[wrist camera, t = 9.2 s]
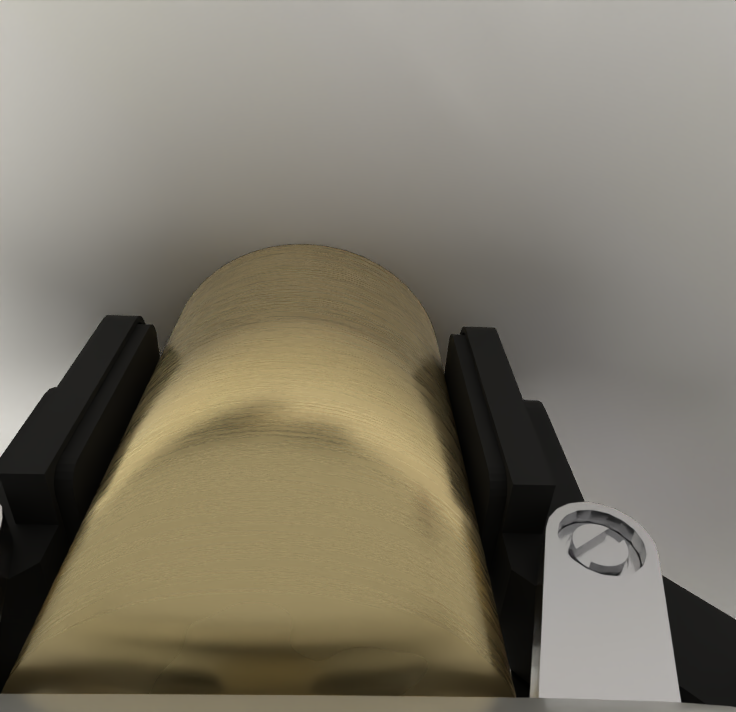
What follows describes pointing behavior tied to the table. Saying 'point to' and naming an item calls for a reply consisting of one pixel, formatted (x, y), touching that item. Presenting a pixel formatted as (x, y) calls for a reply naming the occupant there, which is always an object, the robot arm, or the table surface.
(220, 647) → the cylinder
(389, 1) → the table surface
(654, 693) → the robot arm
